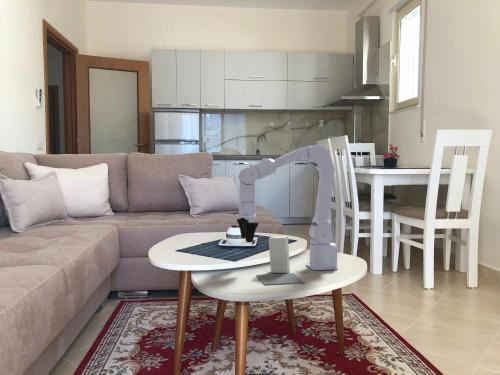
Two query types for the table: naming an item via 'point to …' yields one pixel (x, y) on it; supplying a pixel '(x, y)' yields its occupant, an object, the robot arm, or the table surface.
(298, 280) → the mat
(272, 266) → the skincare box
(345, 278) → the table surface
